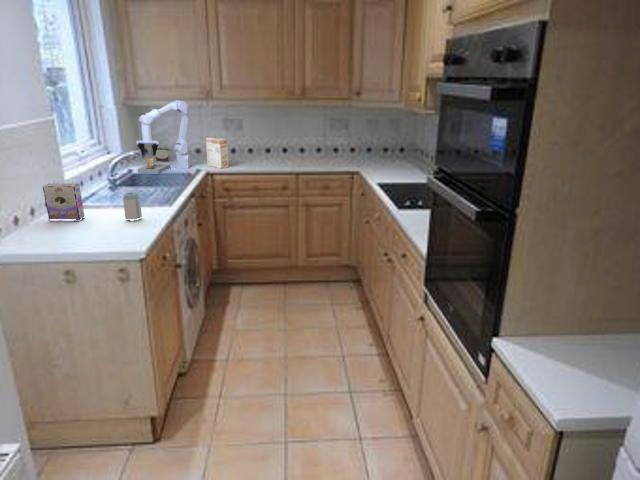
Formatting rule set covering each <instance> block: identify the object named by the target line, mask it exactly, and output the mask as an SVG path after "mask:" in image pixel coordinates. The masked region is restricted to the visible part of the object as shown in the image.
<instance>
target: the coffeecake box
mask: <svg viewBox="0 0 640 480" xmlns="http://www.w3.org/2000/svg"><path fill="white" fill-rule="evenodd" d="M205 146H206V161H207V162H206V163H207V167H213V168H218V169H227V168H229V148H228V138H224V137H223V138H222V137H216V136H215V137H214V136H209V137H205Z"/></svg>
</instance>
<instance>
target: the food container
mask: <svg viewBox="0 0 640 480" xmlns="http://www.w3.org/2000/svg"><path fill="white" fill-rule="evenodd" d="M170 151H171V148H170V147H168V146H158V147H157V150H156V155H155V156H154V157H155V162H157V163H170Z"/></svg>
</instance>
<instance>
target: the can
mask: <svg viewBox="0 0 640 480" xmlns="http://www.w3.org/2000/svg"><path fill="white" fill-rule="evenodd" d="M123 195H124V196H123V197H122V202H123V210H124V217H125V220H126V219H137V218H140V217H142V218H143V214H142V205H141V199H140V195H139V194H138V193H137V192H127V193H124V194H123Z"/></svg>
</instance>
